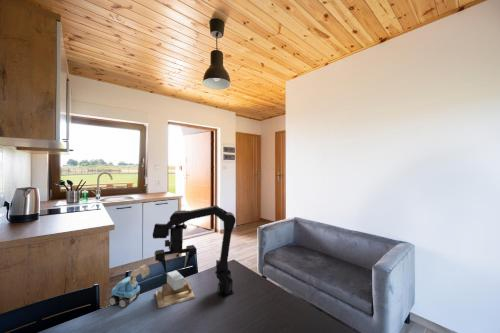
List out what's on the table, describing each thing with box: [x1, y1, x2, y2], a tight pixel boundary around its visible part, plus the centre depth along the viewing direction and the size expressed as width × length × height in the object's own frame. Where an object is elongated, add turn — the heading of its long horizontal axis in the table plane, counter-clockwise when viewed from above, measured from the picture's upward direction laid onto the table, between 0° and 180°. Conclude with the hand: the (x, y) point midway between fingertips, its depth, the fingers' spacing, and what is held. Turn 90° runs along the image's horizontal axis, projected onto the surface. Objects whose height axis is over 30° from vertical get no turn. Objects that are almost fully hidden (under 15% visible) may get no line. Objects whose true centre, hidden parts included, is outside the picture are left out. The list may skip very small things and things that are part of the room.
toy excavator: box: [108, 264, 151, 309], centre depth 98 cm, size 9×17×17 cm, turn 78°
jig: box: [155, 283, 196, 309], centre depth 103 cm, size 16×12×3 cm
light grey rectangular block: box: [166, 269, 185, 290], centre depth 103 cm, size 9×4×4 cm, turn 42°
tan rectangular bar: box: [161, 279, 189, 299], centre depth 103 cm, size 11×4×4 cm, turn 119°
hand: (175, 270), depth 103 cm, fingers open, 9 cm apart
